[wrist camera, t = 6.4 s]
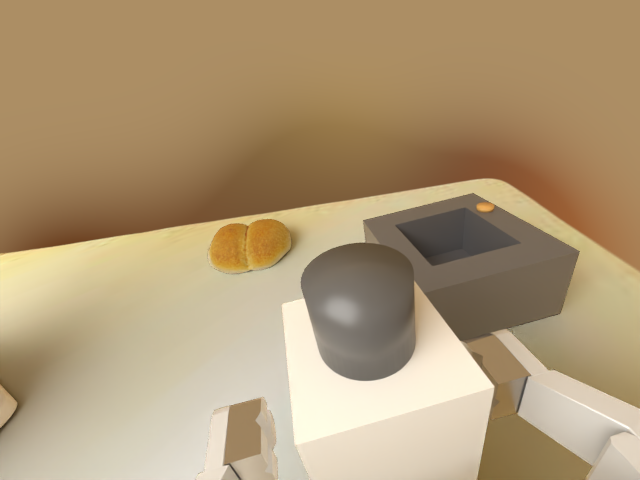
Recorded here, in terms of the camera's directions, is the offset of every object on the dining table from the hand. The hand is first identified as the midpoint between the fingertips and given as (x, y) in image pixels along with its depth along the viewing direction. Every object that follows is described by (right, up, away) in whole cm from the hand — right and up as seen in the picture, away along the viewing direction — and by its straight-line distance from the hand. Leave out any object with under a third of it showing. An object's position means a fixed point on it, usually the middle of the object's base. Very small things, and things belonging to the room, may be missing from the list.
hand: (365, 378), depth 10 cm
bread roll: (-9, +3, +25) cm, 26 cm away
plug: (+2, -7, +3) cm, 8 cm away
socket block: (+9, +1, +14) cm, 17 cm away
